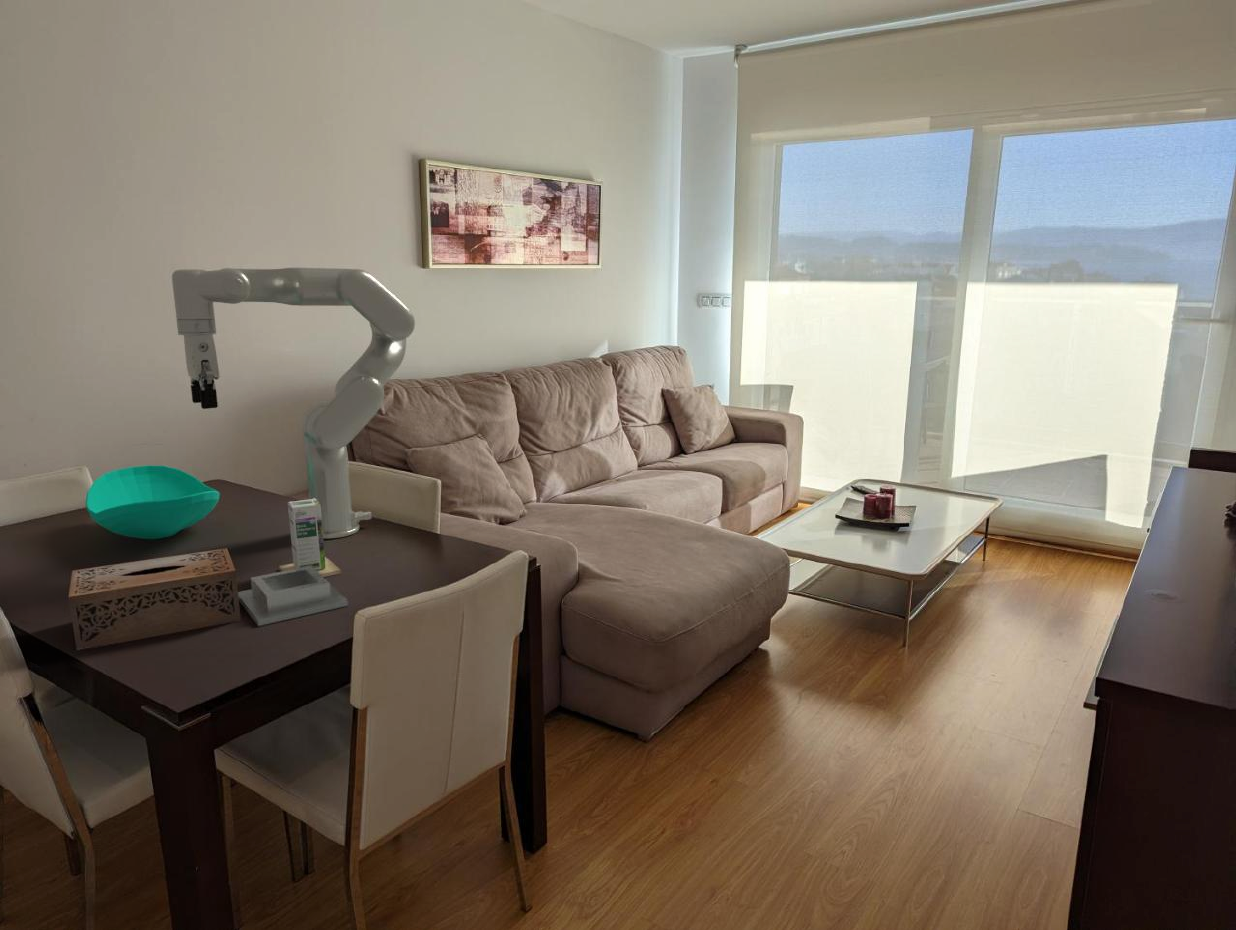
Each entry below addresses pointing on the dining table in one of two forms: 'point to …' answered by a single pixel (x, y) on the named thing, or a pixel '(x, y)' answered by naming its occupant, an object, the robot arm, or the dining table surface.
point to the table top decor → (149, 501)
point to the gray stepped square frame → (289, 595)
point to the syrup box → (306, 534)
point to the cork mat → (328, 571)
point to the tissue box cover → (153, 597)
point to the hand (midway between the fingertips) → (205, 405)
